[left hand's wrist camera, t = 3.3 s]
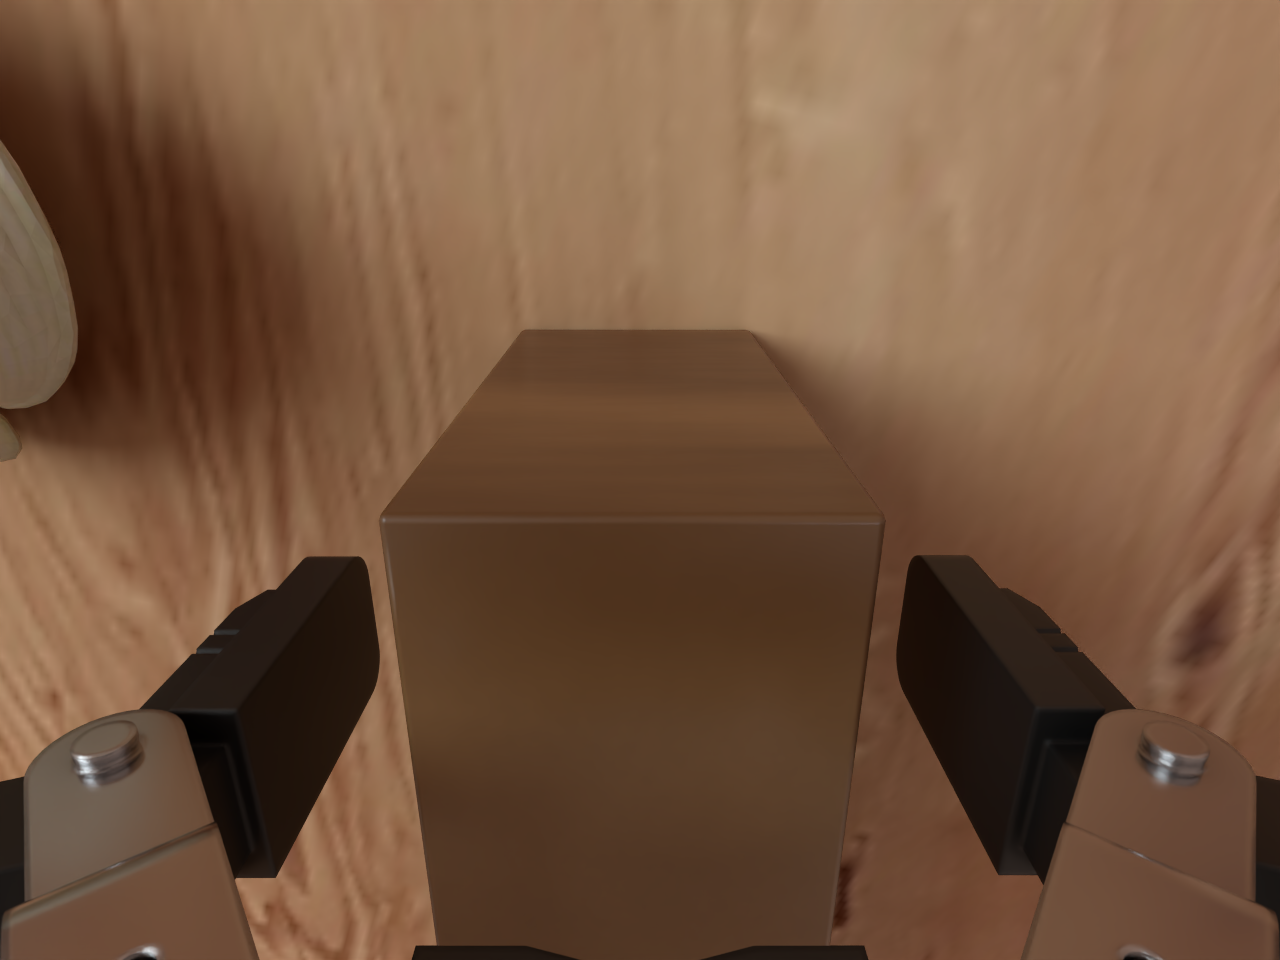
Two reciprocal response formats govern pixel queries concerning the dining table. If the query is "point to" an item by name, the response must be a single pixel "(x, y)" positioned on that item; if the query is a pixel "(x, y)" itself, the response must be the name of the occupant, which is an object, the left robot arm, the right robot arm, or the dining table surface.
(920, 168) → the dining table surface
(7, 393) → the seashell
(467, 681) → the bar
